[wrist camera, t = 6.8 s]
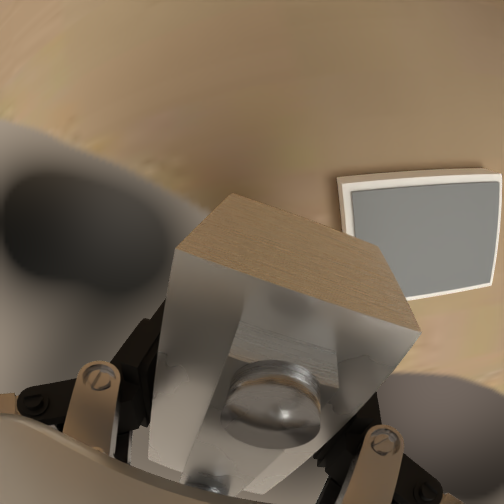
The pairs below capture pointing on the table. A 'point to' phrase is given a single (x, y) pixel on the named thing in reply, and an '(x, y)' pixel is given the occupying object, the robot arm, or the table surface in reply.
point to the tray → (428, 225)
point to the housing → (269, 345)
